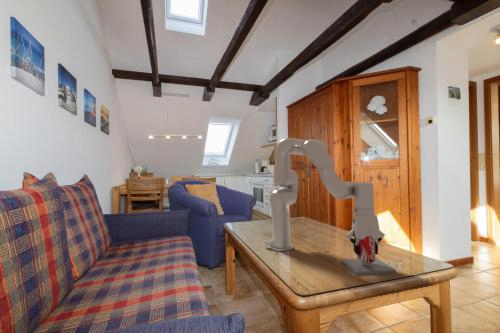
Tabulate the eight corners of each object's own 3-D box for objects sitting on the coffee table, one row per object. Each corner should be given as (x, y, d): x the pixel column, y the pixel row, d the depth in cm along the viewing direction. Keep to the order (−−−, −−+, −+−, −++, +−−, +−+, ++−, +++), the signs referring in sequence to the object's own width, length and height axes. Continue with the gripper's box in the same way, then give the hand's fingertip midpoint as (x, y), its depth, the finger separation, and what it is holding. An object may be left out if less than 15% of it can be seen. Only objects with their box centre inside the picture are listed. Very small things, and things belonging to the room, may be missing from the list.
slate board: (356, 274, 95) (356, 271, 95) (341, 261, 109) (341, 259, 109) (396, 273, 96) (396, 270, 96) (376, 260, 110) (376, 257, 110)
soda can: (368, 265, 98) (367, 235, 98) (353, 260, 104) (352, 231, 105) (379, 262, 101) (378, 233, 102) (364, 257, 108) (363, 229, 108)
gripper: (348, 213, 99) (349, 257, 99) (389, 212, 100) (391, 255, 99) (340, 210, 107) (342, 251, 106) (379, 209, 107) (380, 249, 107)
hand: (365, 253), depth 103 cm, fingers closed on soda can, 7 cm apart
